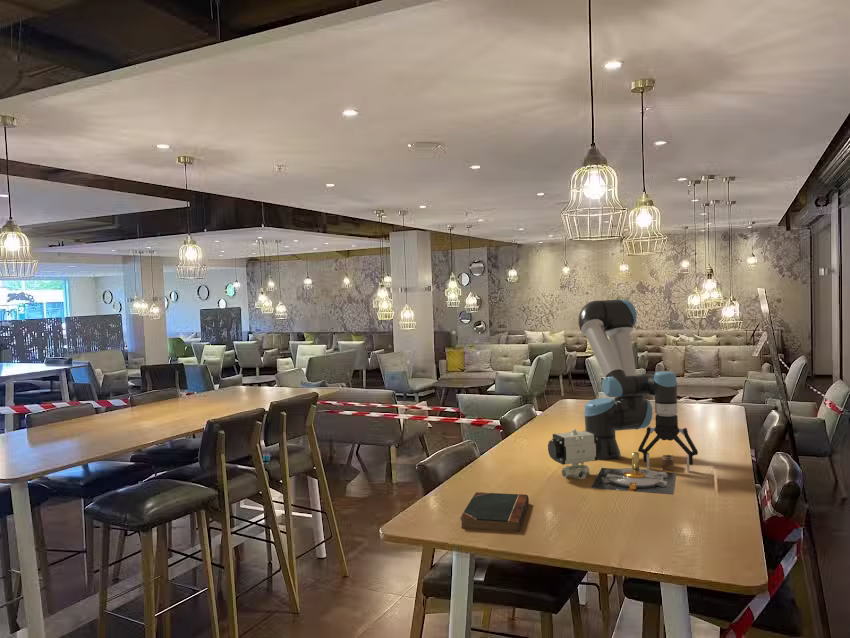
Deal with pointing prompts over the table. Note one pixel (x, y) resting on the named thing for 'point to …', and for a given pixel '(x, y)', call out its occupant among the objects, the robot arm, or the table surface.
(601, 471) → the base plate
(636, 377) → the robot arm
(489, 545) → the table surface
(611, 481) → the turntable with brass post
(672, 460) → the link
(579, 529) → the table surface
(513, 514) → the book
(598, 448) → the ball valve
